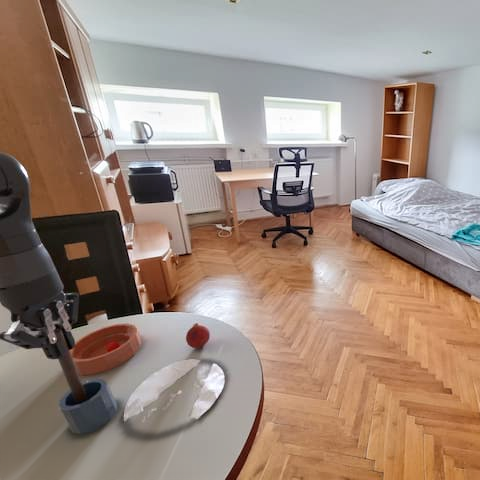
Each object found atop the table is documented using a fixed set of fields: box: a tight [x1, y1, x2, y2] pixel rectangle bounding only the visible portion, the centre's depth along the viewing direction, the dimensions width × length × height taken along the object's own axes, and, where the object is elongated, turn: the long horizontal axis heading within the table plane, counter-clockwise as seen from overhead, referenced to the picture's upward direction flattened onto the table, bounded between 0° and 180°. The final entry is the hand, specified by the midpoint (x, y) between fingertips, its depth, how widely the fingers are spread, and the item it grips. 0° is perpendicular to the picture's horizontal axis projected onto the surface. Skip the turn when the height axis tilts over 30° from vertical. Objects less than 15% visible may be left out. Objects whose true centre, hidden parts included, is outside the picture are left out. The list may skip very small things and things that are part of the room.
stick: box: [54, 329, 88, 405], centre depth 56 cm, size 2×2×18 cm
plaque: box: [123, 358, 226, 423], centre depth 67 cm, size 20×20×2 cm
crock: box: [57, 378, 118, 435], centre depth 60 cm, size 7×8×8 cm
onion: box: [185, 322, 211, 349], centre depth 80 cm, size 6×6×8 cm
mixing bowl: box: [70, 323, 143, 376], centre depth 78 cm, size 15×15×5 cm
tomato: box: [106, 342, 120, 352], centre depth 79 cm, size 3×3×3 cm
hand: (63, 352), depth 55 cm, fingers closed on stick, 2 cm apart
